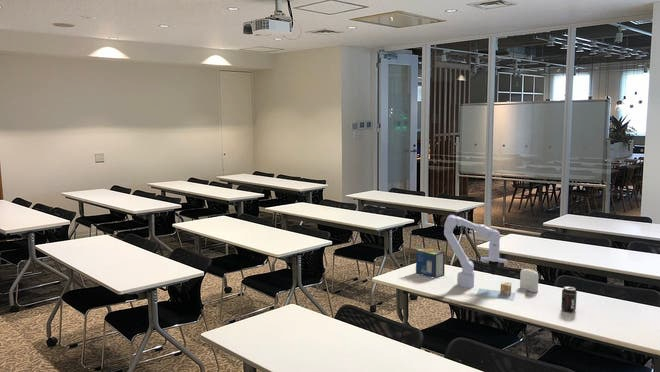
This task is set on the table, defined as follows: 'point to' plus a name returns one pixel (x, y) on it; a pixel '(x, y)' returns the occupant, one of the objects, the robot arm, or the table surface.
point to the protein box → (430, 262)
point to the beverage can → (569, 299)
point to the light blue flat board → (494, 294)
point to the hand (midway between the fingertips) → (493, 274)
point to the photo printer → (529, 280)
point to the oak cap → (505, 288)
